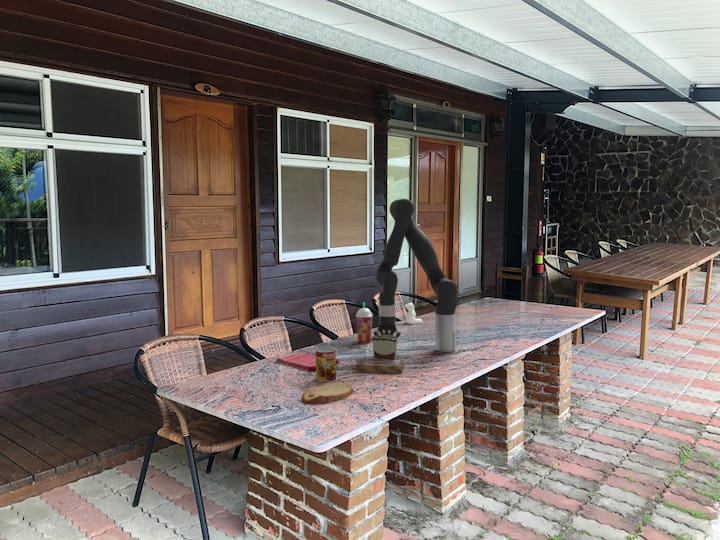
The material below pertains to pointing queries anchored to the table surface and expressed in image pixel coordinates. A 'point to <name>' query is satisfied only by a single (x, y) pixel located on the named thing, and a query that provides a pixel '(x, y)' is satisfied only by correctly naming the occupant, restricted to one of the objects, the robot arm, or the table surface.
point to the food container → (384, 347)
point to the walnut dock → (379, 367)
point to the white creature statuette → (411, 315)
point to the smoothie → (364, 324)
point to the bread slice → (327, 393)
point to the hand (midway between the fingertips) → (387, 352)
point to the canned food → (325, 364)
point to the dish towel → (300, 361)
